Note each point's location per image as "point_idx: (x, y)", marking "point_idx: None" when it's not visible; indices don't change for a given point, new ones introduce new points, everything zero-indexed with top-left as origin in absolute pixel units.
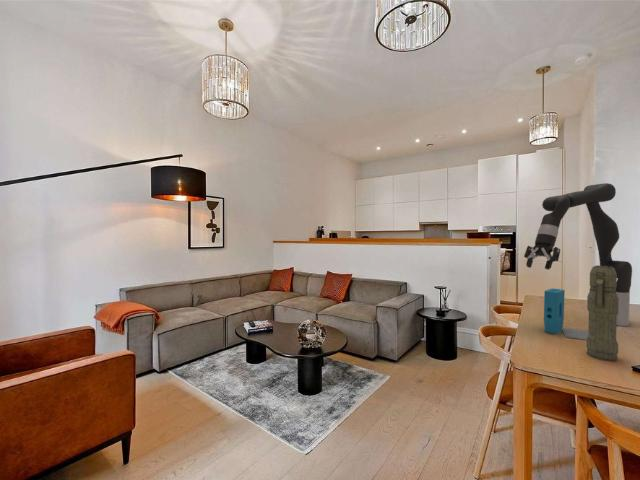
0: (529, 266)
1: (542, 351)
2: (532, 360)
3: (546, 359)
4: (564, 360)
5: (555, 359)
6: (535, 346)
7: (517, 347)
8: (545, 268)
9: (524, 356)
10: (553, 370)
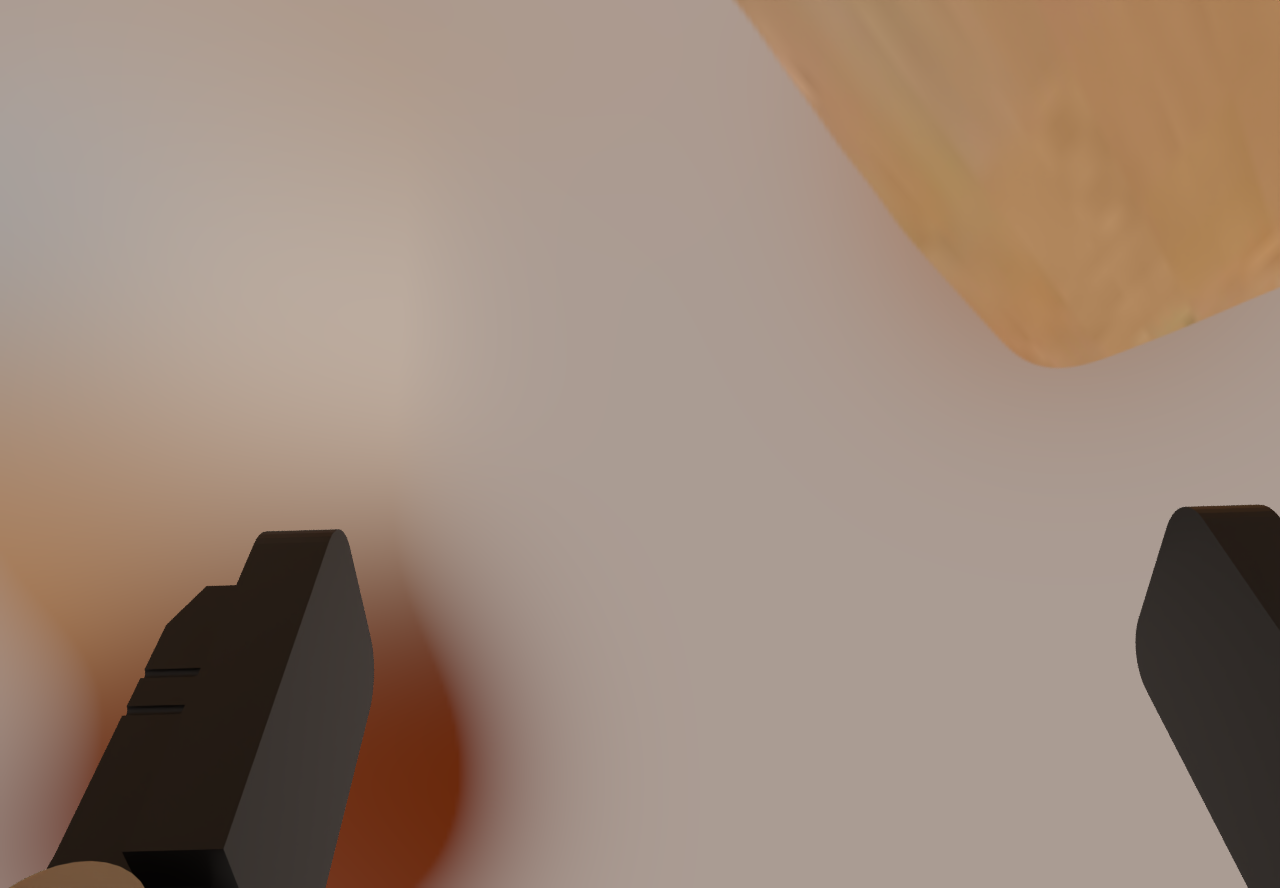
0: (354, 622)
1: (1055, 61)
2: (1086, 275)
3: (1151, 181)
4: (1269, 73)
5: (1204, 120)
6: (946, 5)
7: (872, 176)
8: (1154, 632)
9: (1014, 268)
10: (1249, 286)
